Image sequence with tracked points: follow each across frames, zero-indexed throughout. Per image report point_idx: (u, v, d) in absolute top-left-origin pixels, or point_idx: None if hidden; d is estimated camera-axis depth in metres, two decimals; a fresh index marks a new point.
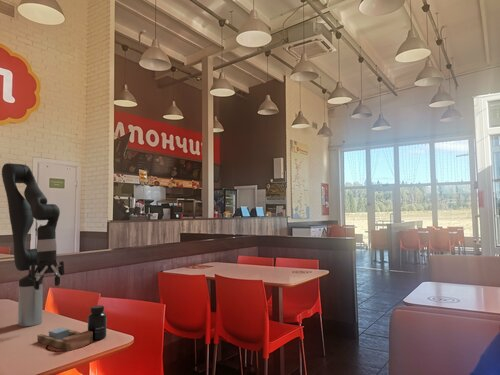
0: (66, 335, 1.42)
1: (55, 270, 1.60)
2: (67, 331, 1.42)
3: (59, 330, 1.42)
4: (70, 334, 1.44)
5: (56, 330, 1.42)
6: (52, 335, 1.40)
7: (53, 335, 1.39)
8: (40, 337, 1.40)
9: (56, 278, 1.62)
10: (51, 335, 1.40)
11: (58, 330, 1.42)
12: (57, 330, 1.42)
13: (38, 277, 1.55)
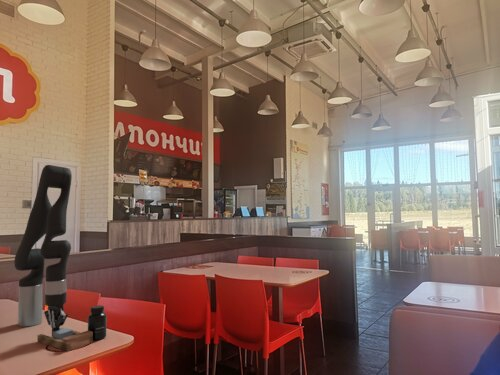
0: None
1: None
2: (71, 332, 1.41)
3: (63, 331, 1.40)
4: None
5: (60, 331, 1.41)
6: (56, 336, 1.38)
7: (57, 336, 1.38)
8: (40, 337, 1.40)
9: None
10: (55, 336, 1.39)
11: (62, 331, 1.40)
12: (61, 331, 1.40)
13: None
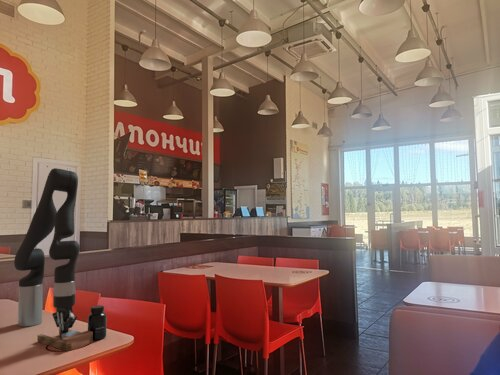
0: None
1: None
2: None
3: (72, 333, 1.37)
4: None
5: (69, 333, 1.37)
6: None
7: None
8: (40, 337, 1.40)
9: None
10: None
11: (71, 333, 1.37)
12: (70, 333, 1.37)
13: None
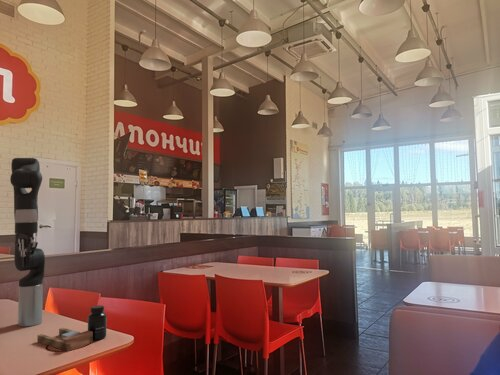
0: None
1: None
2: None
3: (72, 333, 1.37)
4: None
5: (69, 333, 1.37)
6: None
7: None
8: (40, 337, 1.40)
9: None
10: None
11: (71, 333, 1.37)
12: (70, 333, 1.37)
13: None
